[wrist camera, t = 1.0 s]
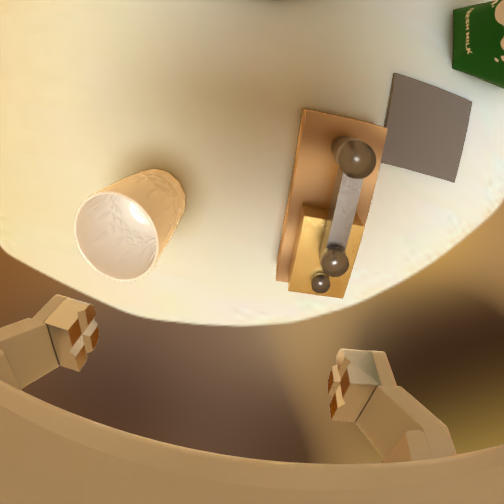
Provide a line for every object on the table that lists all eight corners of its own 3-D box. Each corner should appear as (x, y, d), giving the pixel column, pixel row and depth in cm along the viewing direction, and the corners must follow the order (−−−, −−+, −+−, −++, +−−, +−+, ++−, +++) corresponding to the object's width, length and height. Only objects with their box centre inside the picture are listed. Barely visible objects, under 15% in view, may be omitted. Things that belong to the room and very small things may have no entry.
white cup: (183, 156, 31) (143, 182, 22) (198, 229, 34) (170, 278, 25) (115, 170, 32) (62, 201, 23) (133, 237, 35) (91, 284, 26)
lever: (336, 133, 22) (345, 139, 19) (369, 140, 22) (383, 148, 19) (311, 252, 26) (315, 274, 23) (341, 257, 26) (349, 279, 23)
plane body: (303, 108, 28) (309, 111, 22) (374, 124, 28) (398, 132, 22) (276, 260, 35) (275, 297, 29) (339, 270, 35) (349, 307, 29)
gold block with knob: (302, 204, 28) (305, 219, 24) (357, 213, 28) (366, 230, 24) (288, 273, 31) (288, 296, 28) (338, 280, 31) (344, 303, 28)
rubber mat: (393, 73, 25) (395, 73, 24) (469, 101, 25) (472, 101, 24) (377, 160, 29) (379, 162, 29) (451, 181, 29) (454, 182, 28)
